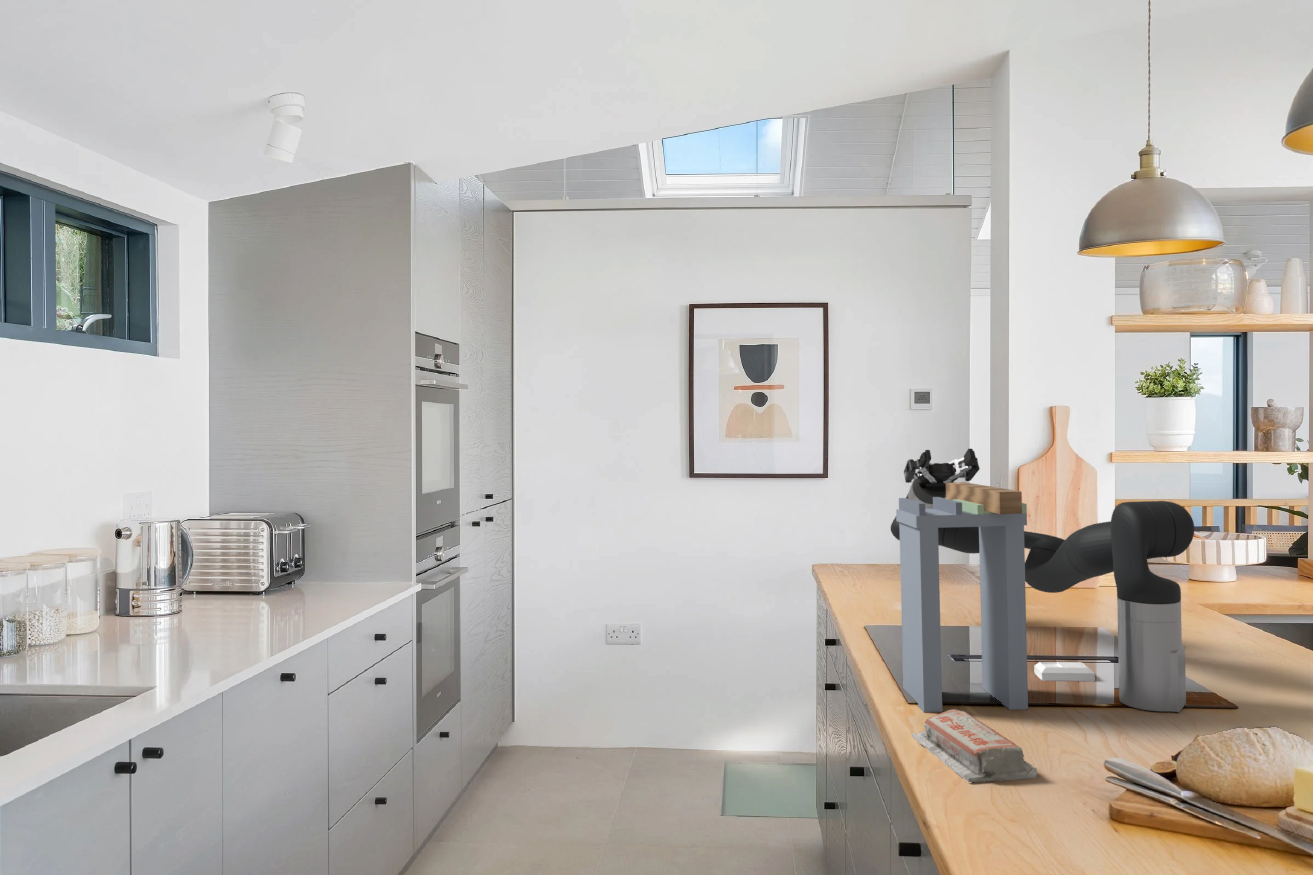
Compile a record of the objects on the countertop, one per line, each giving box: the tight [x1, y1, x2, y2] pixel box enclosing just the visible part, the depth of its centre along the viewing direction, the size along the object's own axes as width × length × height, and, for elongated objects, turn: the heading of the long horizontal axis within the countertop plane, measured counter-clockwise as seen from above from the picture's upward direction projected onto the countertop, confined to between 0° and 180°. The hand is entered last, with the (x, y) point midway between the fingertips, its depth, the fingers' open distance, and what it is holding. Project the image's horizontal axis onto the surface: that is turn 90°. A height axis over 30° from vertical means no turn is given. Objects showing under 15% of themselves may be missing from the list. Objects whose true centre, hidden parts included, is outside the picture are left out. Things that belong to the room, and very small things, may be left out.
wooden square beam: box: [945, 481, 1023, 514], centre depth 156 cm, size 26×4×4 cm, turn 0°
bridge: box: [895, 497, 1029, 713], centre depth 152 cm, size 12×18×34 cm, turn 90°
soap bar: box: [1033, 661, 1096, 682], centre depth 165 cm, size 5×9×3 cm, turn 82°
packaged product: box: [911, 709, 1038, 783], centre depth 127 cm, size 18×5×10 cm
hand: (950, 453), depth 179 cm, fingers open, 8 cm apart
